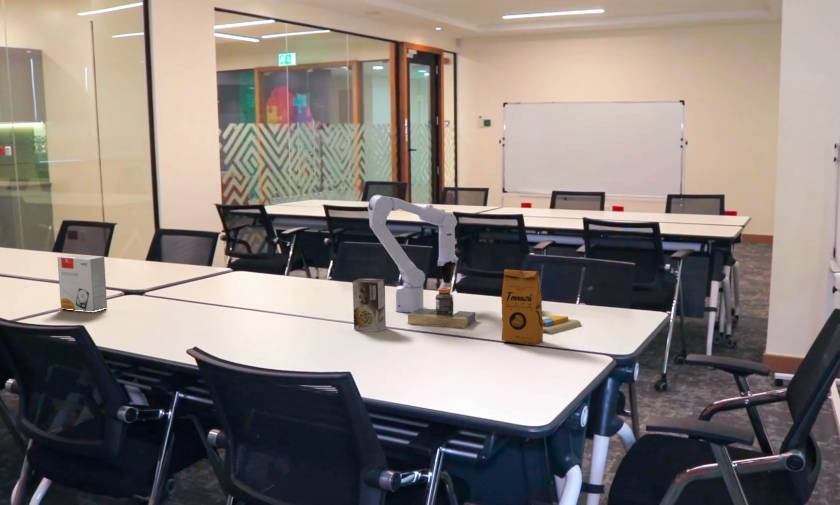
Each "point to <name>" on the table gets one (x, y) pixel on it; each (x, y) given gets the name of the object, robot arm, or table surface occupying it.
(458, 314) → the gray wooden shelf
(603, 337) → the table surface
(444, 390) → the table surface
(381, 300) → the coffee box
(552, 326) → the wooden puzzle
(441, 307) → the pill bottle
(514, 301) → the coffee package
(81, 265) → the hard drive box
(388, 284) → the table surface
